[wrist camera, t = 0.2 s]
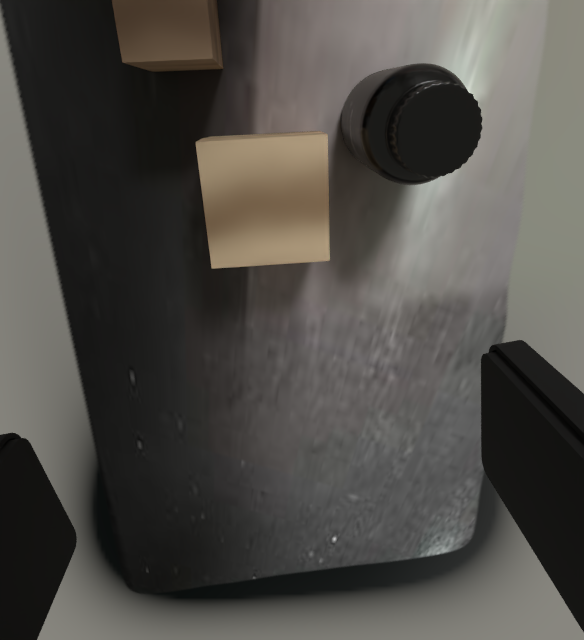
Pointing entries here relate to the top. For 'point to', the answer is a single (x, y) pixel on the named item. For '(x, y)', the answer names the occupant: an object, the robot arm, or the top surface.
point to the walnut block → (169, 34)
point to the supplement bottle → (411, 123)
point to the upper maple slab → (265, 198)
